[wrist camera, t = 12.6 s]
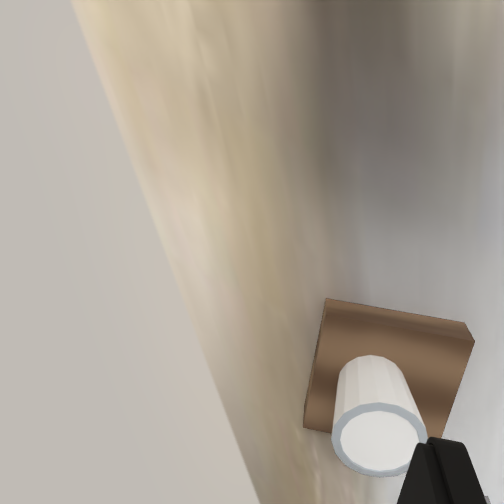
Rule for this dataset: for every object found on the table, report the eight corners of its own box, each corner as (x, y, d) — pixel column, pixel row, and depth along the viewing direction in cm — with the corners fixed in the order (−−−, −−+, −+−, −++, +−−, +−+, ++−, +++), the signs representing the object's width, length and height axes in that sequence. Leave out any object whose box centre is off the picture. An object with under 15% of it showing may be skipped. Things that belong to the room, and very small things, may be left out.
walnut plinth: (326, 298, 41) (325, 314, 38) (464, 322, 39) (475, 341, 37) (304, 405, 45) (302, 427, 42) (428, 430, 44) (435, 454, 41)
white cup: (371, 428, 41) (379, 493, 35) (314, 382, 40) (311, 440, 34) (429, 383, 39) (450, 444, 32) (370, 333, 38) (379, 386, 31)
